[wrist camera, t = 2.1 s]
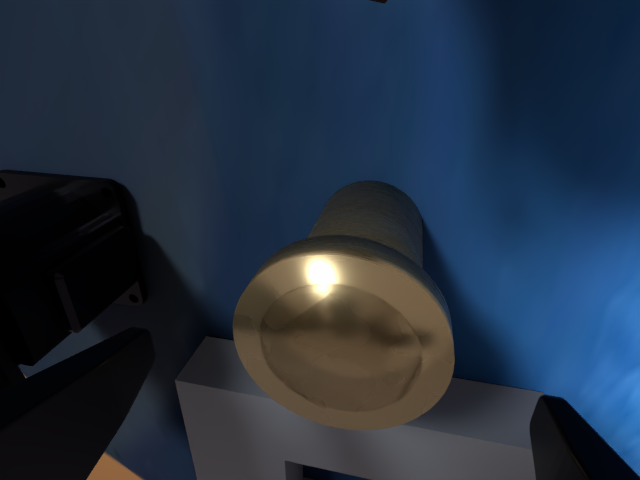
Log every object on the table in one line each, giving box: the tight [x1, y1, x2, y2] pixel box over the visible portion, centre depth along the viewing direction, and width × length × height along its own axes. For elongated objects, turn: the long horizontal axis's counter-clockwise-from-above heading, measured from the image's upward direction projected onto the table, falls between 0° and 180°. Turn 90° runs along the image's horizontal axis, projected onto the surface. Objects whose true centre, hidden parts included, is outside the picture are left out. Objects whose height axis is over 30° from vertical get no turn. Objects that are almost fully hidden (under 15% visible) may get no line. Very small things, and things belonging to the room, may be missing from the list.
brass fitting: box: [233, 181, 455, 430], centre depth 13 cm, size 5×5×7 cm
